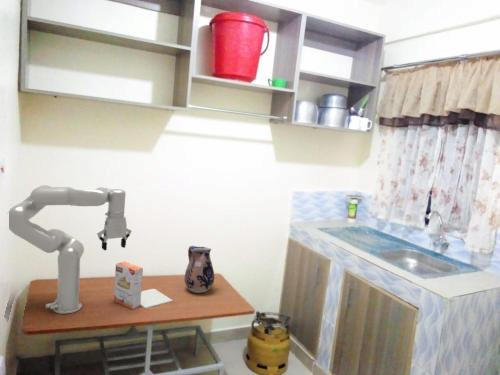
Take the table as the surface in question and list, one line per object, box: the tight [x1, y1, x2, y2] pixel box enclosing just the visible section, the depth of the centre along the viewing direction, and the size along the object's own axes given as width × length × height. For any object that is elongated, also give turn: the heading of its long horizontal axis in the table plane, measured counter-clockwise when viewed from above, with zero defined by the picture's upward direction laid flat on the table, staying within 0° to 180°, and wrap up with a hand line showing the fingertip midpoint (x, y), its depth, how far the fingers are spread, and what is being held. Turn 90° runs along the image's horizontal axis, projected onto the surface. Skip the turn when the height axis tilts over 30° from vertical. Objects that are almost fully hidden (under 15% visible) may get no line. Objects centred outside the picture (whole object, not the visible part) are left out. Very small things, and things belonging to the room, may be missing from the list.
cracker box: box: [113, 261, 144, 310], centre depth 189 cm, size 14×6×21 cm, turn 60°
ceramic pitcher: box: [183, 245, 215, 294], centre depth 217 cm, size 18×21×25 cm
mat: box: [140, 288, 173, 310], centre depth 200 cm, size 16×19×1 cm
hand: (113, 248), depth 182 cm, fingers open, 9 cm apart
